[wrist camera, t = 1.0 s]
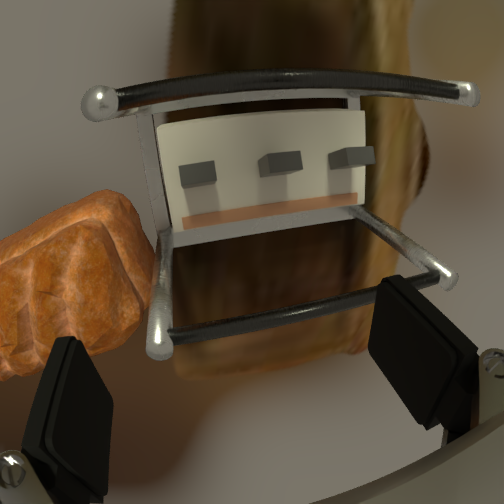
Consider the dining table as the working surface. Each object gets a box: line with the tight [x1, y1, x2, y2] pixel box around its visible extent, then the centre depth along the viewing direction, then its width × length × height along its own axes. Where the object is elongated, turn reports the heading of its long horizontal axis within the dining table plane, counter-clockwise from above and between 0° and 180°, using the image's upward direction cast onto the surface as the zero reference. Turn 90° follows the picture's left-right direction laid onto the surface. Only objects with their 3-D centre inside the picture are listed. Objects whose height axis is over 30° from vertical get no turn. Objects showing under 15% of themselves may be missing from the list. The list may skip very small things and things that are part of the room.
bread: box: [0, 189, 155, 381], centre depth 28 cm, size 14×26×16 cm, turn 107°
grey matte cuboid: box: [328, 146, 376, 170], centre depth 28 cm, size 2×3×4 cm, turn 96°
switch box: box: [157, 108, 365, 233], centre depth 32 cm, size 10×20×6 cm, turn 95°
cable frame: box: [81, 68, 480, 361], centre depth 26 cm, size 17×25×19 cm
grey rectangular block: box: [178, 160, 217, 189], centre depth 26 cm, size 2×3×4 cm, turn 95°
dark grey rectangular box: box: [258, 151, 303, 178], centre depth 27 cm, size 2×3×4 cm, turn 95°
